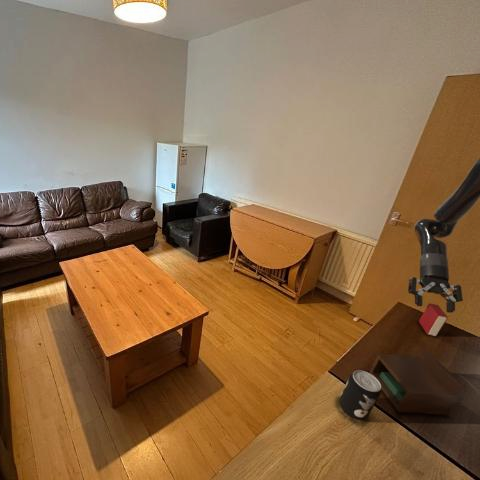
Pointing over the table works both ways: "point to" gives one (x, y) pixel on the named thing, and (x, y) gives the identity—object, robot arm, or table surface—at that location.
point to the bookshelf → (417, 383)
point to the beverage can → (360, 395)
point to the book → (433, 319)
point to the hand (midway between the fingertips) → (434, 309)
